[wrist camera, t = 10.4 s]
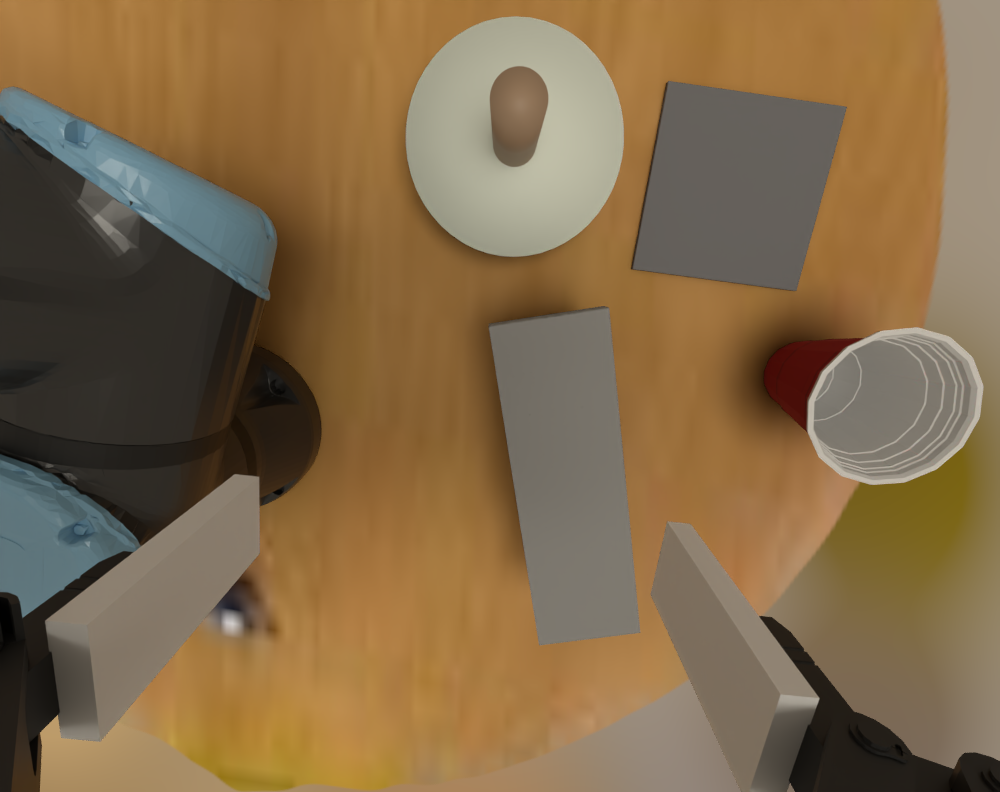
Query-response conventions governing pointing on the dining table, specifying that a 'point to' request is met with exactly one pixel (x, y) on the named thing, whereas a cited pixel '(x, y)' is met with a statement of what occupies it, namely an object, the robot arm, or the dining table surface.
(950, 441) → the plastic cup
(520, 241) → the lid
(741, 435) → the dining table surface
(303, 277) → the dining table surface
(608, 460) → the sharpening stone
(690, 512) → the dining table surface
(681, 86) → the mat
